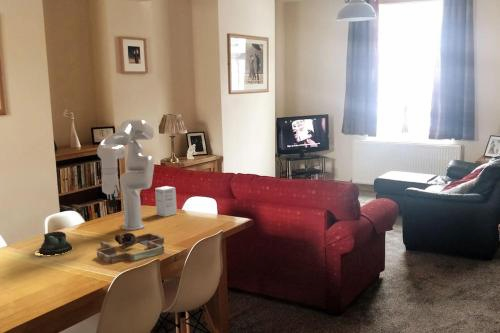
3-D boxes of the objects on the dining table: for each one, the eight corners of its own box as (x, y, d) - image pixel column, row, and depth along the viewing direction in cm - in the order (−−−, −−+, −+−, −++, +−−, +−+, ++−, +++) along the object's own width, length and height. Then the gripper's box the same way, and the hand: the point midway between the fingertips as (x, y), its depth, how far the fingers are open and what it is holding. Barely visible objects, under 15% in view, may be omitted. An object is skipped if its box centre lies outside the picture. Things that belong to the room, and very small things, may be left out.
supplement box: (177, 214, 322) (176, 187, 319) (165, 216, 315) (164, 189, 313) (167, 211, 329) (166, 185, 326) (156, 214, 322) (154, 188, 319)
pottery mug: (140, 244, 263) (140, 233, 258) (131, 257, 256) (131, 246, 251) (118, 238, 265) (117, 226, 260) (109, 251, 258) (108, 239, 253)
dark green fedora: (85, 248, 258) (84, 230, 257) (51, 260, 242) (49, 241, 240) (60, 243, 269) (58, 225, 267) (25, 254, 253) (23, 235, 251)
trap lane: (84, 251, 252) (84, 245, 252) (146, 236, 276) (145, 230, 275) (115, 266, 231) (114, 260, 230) (179, 248, 254) (178, 242, 253)
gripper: (95, 170, 263) (98, 205, 265) (110, 173, 251) (113, 210, 254) (109, 168, 268) (111, 203, 270) (124, 171, 256) (126, 207, 259)
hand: (112, 206), depth 262 cm, fingers closed
